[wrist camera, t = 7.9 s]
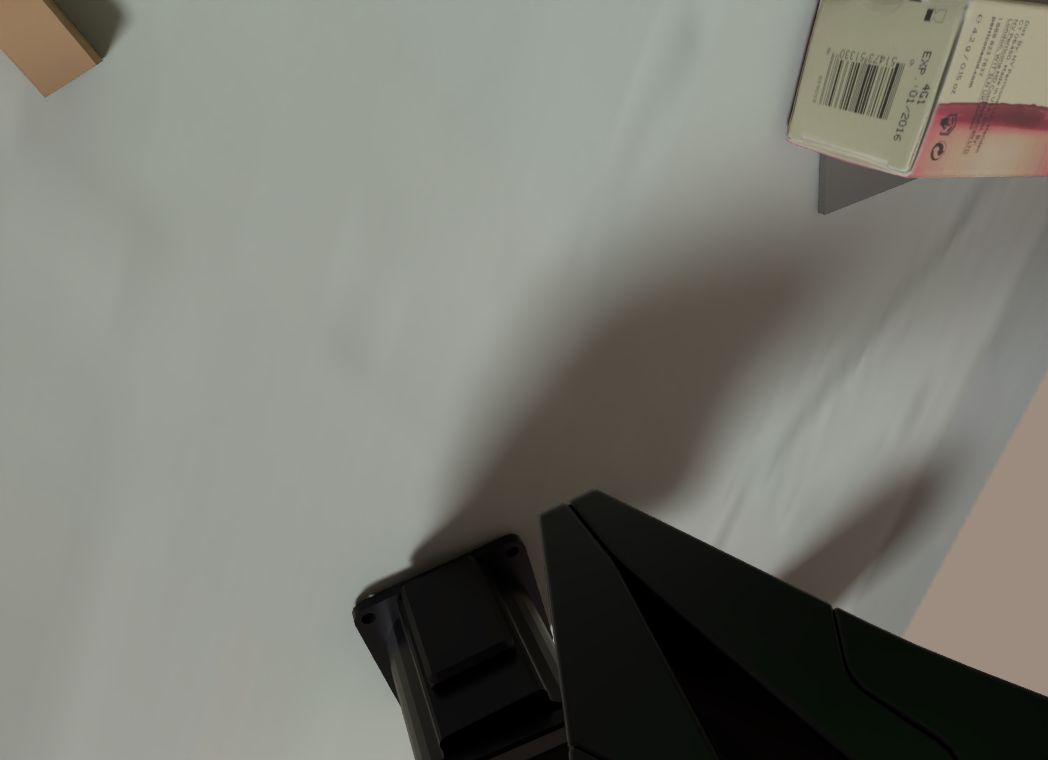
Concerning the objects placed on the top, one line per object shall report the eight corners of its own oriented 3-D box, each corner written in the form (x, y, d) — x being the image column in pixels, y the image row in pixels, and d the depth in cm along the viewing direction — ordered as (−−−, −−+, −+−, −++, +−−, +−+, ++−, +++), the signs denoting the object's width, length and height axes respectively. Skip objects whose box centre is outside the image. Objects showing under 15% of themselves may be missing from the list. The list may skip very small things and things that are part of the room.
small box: (906, 183, 18) (1103, 182, 21) (973, -11, 16) (1182, 18, 18) (778, 142, 22) (956, 146, 25) (817, -15, 20) (1008, 9, 23)
